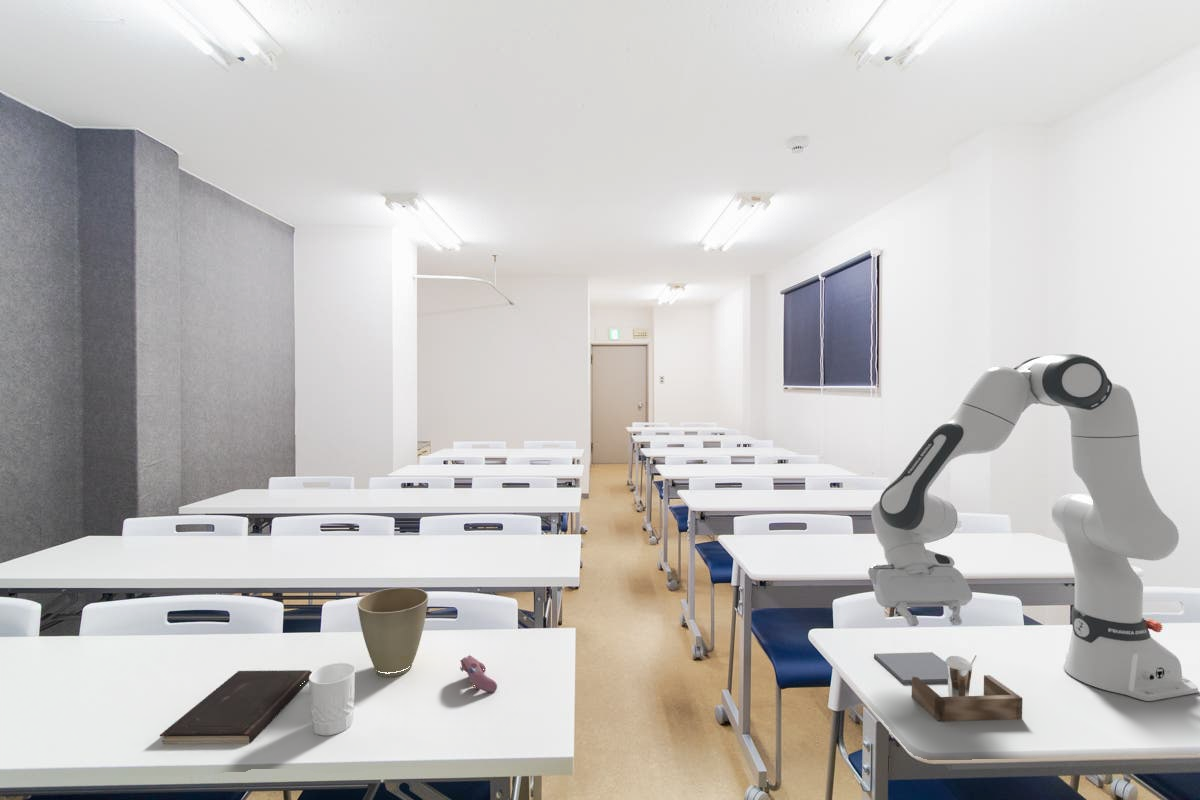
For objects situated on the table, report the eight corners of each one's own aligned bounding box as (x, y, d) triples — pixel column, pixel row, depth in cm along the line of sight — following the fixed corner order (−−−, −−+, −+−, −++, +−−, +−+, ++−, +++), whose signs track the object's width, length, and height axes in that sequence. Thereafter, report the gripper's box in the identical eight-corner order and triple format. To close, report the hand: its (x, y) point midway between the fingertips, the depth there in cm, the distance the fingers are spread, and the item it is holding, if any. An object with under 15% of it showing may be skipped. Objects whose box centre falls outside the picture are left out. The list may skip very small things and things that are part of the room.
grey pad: (932, 655, 136) (932, 652, 136) (967, 681, 124) (967, 678, 124) (874, 657, 136) (874, 653, 136) (903, 683, 124) (903, 680, 124)
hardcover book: (160, 747, 104) (159, 734, 103) (238, 681, 127) (238, 670, 126) (250, 746, 104) (250, 733, 104) (312, 680, 127) (312, 670, 127)
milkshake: (980, 711, 113) (981, 660, 113) (949, 708, 114) (950, 658, 114) (970, 698, 118) (971, 650, 117) (941, 696, 119) (942, 647, 119)
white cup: (343, 708, 115) (342, 658, 114) (364, 723, 110) (363, 671, 109) (302, 727, 109) (301, 674, 108) (322, 743, 104) (321, 688, 103)
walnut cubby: (989, 694, 120) (989, 675, 119) (1022, 718, 111) (1022, 698, 111) (911, 696, 119) (911, 677, 119) (938, 721, 110) (938, 700, 110)
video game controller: (468, 682, 128) (453, 657, 126) (486, 668, 130) (472, 644, 128) (480, 704, 119) (465, 677, 117) (500, 689, 121) (485, 663, 119)
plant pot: (342, 679, 126) (341, 606, 125) (390, 649, 140) (389, 584, 139) (399, 692, 121) (398, 616, 120) (442, 660, 135) (441, 591, 134)
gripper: (870, 558, 130) (894, 619, 121) (959, 557, 131) (989, 617, 122) (860, 571, 135) (882, 631, 126) (946, 570, 136) (974, 629, 126)
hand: (935, 624), depth 124 cm, fingers open, 8 cm apart
